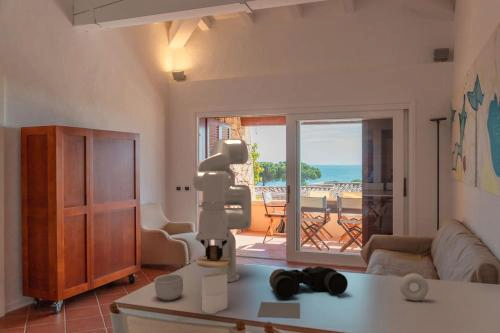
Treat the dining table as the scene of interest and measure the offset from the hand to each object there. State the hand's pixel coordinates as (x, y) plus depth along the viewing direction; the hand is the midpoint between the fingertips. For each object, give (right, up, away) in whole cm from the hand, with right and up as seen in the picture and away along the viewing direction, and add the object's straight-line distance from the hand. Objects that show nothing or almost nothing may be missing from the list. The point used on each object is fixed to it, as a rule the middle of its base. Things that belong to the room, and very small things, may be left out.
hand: (214, 258), depth 139 cm
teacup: (-18, -18, +14) cm, 29 cm away
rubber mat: (+23, -18, -4) cm, 29 cm away
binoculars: (+34, -18, +18) cm, 42 cm away
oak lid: (0, -2, 0) cm, 2 cm away
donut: (+74, -17, +6) cm, 76 cm away
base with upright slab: (0, -18, 0) cm, 18 cm away
